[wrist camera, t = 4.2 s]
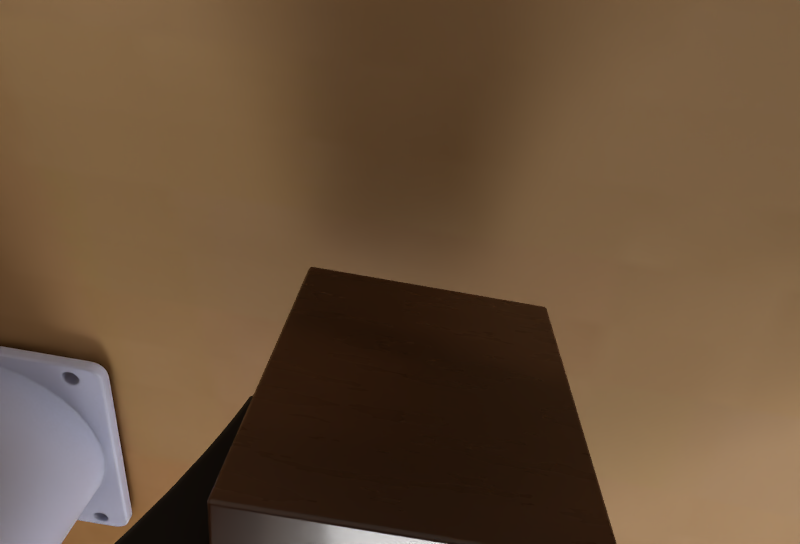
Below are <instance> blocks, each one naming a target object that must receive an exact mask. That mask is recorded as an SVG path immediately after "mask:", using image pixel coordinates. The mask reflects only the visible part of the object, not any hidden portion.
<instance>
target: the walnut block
mask: <svg viewBox="0 0 800 544" xmlns="http://www.w3.org/2000/svg"><path fill="white" fill-rule="evenodd" d="M207 503H208V524H209V544H616V540H615V537H614V534H613V530H612V527H611V524H610V520H609V517H608V514H607V510H606V507H605V504H604V500H603V497H602V494H601V490H600V487H599V483H598V480H597V477H596V473H595V470H594V467H593V463H592V460H591V457H590V453H589V450H588V447H587V443H586V440H585V437H584V433H583V430H582V427H581V423H580V420H579V416H578V413H577V410H576V406H575V403H574V400H573V396H572V393H571V390H570V386H569V383H568V380H567V376H566V373H565V370H564V366H563V363H562V359H561V356H560V353H559V349H558V346H557V343H556V339H555V336H554V333H553V329H552V326H551V323H550V319H549V316H548V313H547V309H546V308H545V307H542V306H536V305H530V304H525V303H519V302H513V301H507V300H501V299H496V298H490V297H484V296H478V295H472V294H467V293H461V292H455V291H449V290H443V289H437V288H432V287H426V286H420V285H414V284H408V283H403V282H397V281H391V280H385V279H379V278H374V277H368V276H362V275H356V274H350V273H345V272H339V271H333V270H327V269H321V268H316V267H310V268H309V270H308V272H307V275H306V277H305V279H304V281H303V284H302V286H301V288H300V291H299V293H298V295H297V297H296V300H295V302H294V304H293V306H292V309H291V311H290V313H289V316H288V318H287V320H286V322H285V325H284V327H283V329H282V332H281V334H280V336H279V338H278V341H277V343H276V345H275V348H274V350H273V352H272V354H271V357H270V359H269V361H268V363H267V366H266V368H265V370H264V373H263V375H262V377H261V379H260V382H259V384H258V386H257V389H256V391H255V393H254V395H253V398H252V400H251V402H250V405H249V407H248V409H247V411H246V414H245V416H244V418H243V420H242V423H241V425H240V427H239V430H238V432H237V434H236V436H235V439H234V441H233V443H232V446H231V448H230V450H229V452H228V455H227V457H226V459H225V461H224V464H223V466H222V468H221V471H220V473H219V475H218V477H217V480H216V482H215V484H214V487H213V489H212V491H211V493H210V496H209V498H208V500H207Z"/></svg>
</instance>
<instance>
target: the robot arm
mask: <svg viewBox="0 0 800 544" xmlns="http://www.w3.org/2000/svg"><path fill="white" fill-rule="evenodd" d="M252 398H253V396H251V397H249V399H248V400H247V401H246V403H245V404H244V405H243V407H242V408H241V409H240V411H239V412H238V413H237V414H236V416H235V417H234V418H233V419H232V421H231V422H230V423H229V424H228V426H227V427H226V428H225V429H224V430H223V432H222V433H221V434H220V435H219V436H218V437H217V439H216V440H215V441H214V442H213V443H212V444H211V446H210V447H209V448H208V449H207V450H206V451H205V452H204V453H203V455H202V456H201V457H200V458H199V459H198V460H197V461H196V462H195V463H194V464H193V465H192V466H191V468H190V469H189V470H188V471H187V472H186V473H185V474H184V475H183V476H182V477H181V478H180V479H179V481H178V482H177V483H176V484H175V485H174V486H173V487H172V488H171V489H170V490H169V491H168V492H167V493H166V494H165V495H164V496H163V497H162V498H161V499H160V500H159V501H158V502H157V503H156V504H155V505H154V506H153V507H152V508H151V509H150V510H149V511H148V512H147V513H146V514H145V515H144V516H143V517H142V518H141V519H140V520H139V521H138V522H137V523H136V524H135V525H134V526H133V527H132V528H131V529H130V530H128V531H127V532H126V533H125V534H124V535H123V536H122V537H121V538H120V539H119V540H118V541H117V542H116V543H115V544H209V524H208V503H207V500H208V498H209V496H210V493H211V491H212V489H213V487H214V484H215V482H216V480H217V477H218V475H219V473H220V471H221V468H222V466H223V464H224V461H225V459H226V457H227V455H228V452H229V450H230V448H231V446H232V443H233V441H234V439H235V436H236V434H237V432H238V430H239V427H240V425H241V423H242V420H243V418H244V416H245V414H246V411H247V409H248V407H249V405H250V402H251V400H252ZM131 516H132V509H131V503H130V497H129V492H128V486H127V480H126V474H125V468H124V462H123V456H122V450H121V445H120V439H119V433H118V427H117V421H116V415H115V409H114V403H113V397H112V392H111V386H110V380H109V375H108V373H107V371H106V370H105V369H104V367H102V366H101V365H99V364H98V363H95V362H91V361H85V360H79V359H73V358H67V357H62V356H56V355H50V354H44V353H38V352H32V351H26V350H20V349H15V348H9V347H3V346H0V544H61V543H62V542H63V540H64V539H65V537H66V536H67V534H68V533H69V531H70V530H71V528H72V527H73V525H74V524H75V522H76V521H77V520H81V521H87V522H93V523H99V524H105V525H111V526H124V525H126V524H127V523H128V521H129V520H130V518H131Z"/></svg>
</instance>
